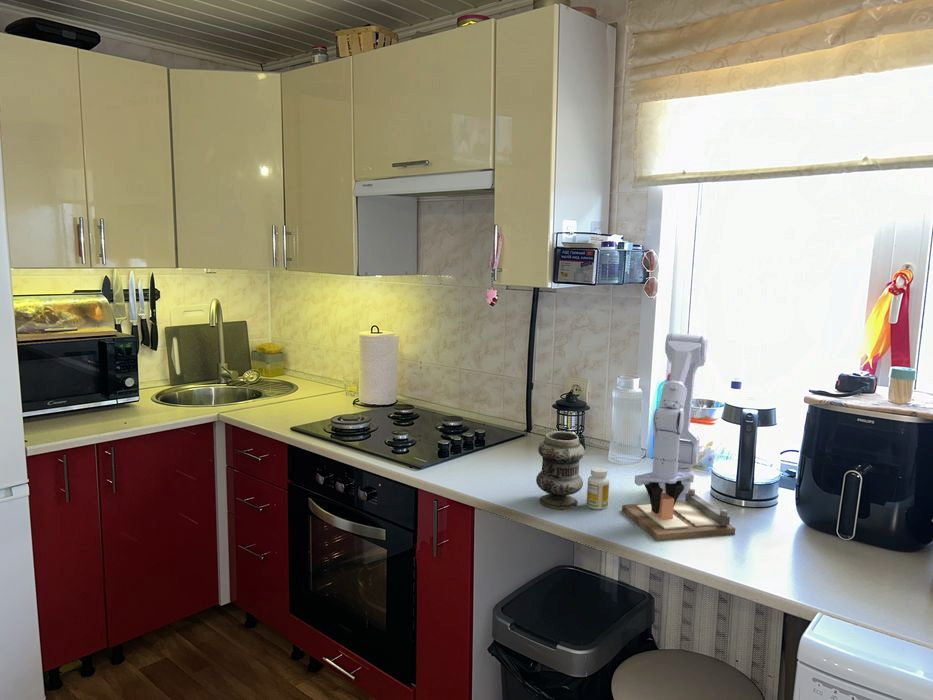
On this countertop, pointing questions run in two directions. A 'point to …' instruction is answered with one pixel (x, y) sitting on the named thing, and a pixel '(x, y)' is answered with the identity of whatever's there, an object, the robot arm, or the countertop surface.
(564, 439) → the apothecary jar
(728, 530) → the ticket board
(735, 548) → the countertop surface
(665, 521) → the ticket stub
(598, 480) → the supplement bottle
